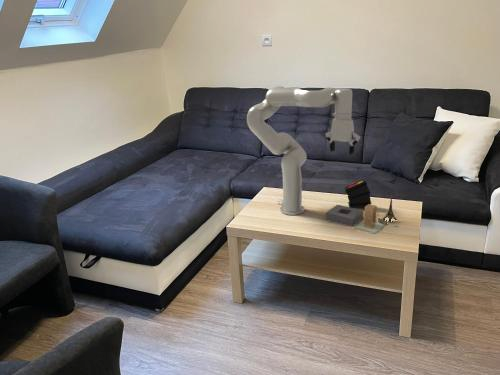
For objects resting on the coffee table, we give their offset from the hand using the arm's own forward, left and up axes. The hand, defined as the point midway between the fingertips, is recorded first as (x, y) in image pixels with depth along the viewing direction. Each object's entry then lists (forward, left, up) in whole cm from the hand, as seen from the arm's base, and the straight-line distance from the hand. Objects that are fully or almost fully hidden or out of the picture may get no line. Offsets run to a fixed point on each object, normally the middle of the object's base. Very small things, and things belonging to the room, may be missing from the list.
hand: (341, 152), depth 202 cm
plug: (+17, -3, -33) cm, 37 cm away
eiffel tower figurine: (+21, +10, -34) cm, 41 cm away
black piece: (+2, +16, -34) cm, 37 cm away
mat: (+17, -3, -33) cm, 38 cm away
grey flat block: (+3, -1, -33) cm, 33 cm away
